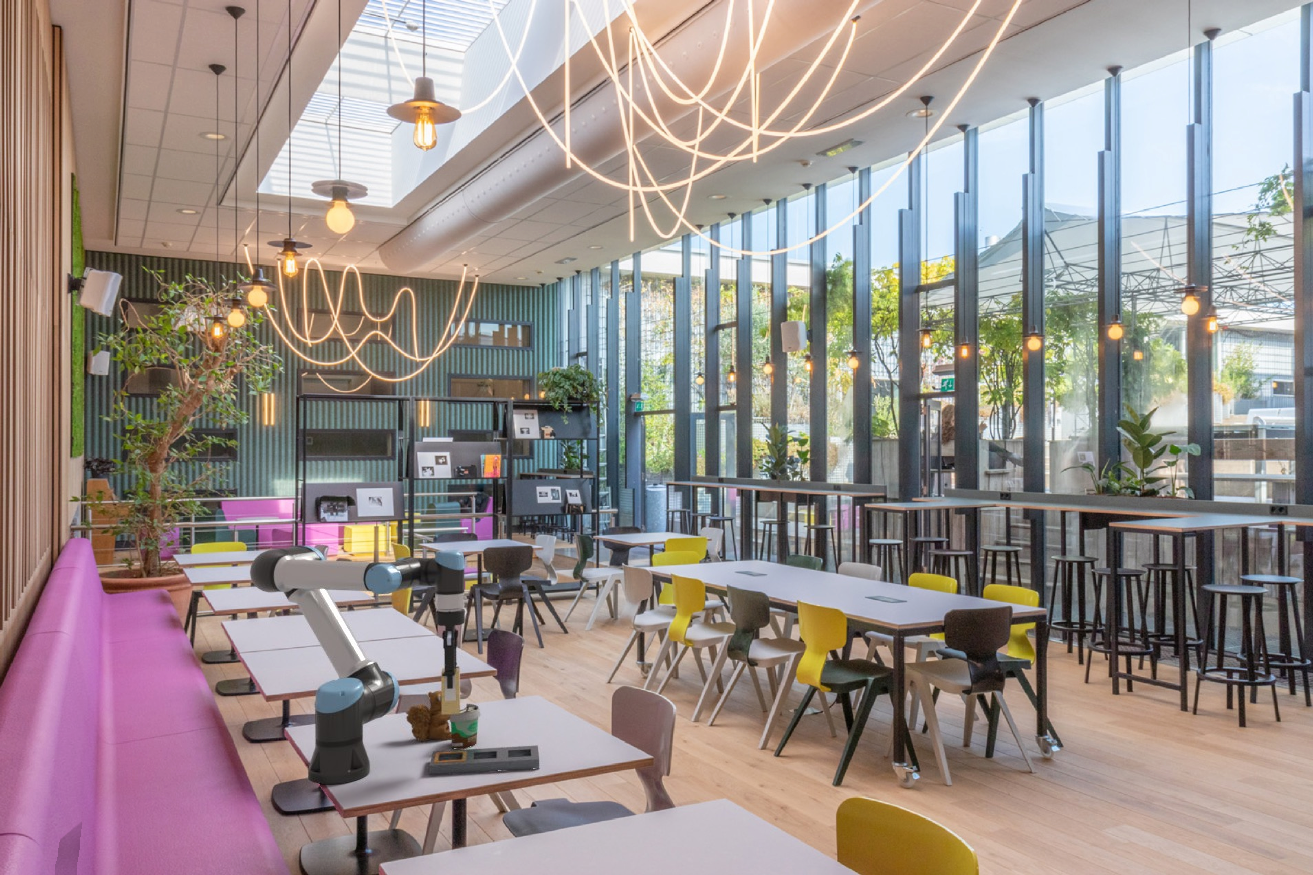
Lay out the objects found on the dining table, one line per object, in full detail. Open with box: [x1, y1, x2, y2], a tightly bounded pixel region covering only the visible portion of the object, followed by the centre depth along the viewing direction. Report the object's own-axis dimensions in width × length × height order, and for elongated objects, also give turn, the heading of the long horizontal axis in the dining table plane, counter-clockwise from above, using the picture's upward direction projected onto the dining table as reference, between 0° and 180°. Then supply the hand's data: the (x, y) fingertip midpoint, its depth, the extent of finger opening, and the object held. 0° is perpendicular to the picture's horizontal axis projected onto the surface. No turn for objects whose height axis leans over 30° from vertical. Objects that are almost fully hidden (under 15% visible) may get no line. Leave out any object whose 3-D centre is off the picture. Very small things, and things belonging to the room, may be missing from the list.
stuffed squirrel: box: [405, 690, 452, 742], centre depth 273 cm, size 10×14×13 cm
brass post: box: [440, 667, 461, 715], centre depth 247 cm, size 4×4×11 cm
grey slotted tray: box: [428, 745, 540, 776], centre depth 248 cm, size 28×12×3 cm, turn 99°
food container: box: [449, 703, 482, 750], centre depth 266 cm, size 12×6×10 cm, turn 168°
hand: (450, 697), depth 247 cm, fingers closed on brass post, 4 cm apart
